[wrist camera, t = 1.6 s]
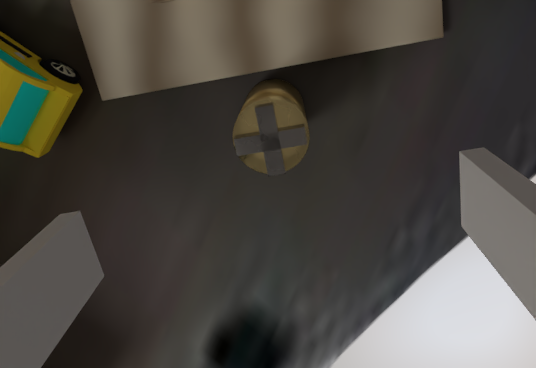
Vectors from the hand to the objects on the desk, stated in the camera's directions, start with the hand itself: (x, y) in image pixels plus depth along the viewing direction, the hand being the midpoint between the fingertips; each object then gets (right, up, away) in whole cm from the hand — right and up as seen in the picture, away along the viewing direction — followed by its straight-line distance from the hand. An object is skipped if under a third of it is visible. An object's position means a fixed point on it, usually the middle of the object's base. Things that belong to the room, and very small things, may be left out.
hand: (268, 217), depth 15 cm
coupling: (0, +7, +17) cm, 19 cm away
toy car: (-19, +10, +17) cm, 28 cm away
